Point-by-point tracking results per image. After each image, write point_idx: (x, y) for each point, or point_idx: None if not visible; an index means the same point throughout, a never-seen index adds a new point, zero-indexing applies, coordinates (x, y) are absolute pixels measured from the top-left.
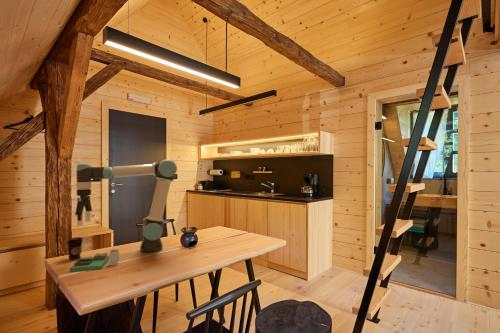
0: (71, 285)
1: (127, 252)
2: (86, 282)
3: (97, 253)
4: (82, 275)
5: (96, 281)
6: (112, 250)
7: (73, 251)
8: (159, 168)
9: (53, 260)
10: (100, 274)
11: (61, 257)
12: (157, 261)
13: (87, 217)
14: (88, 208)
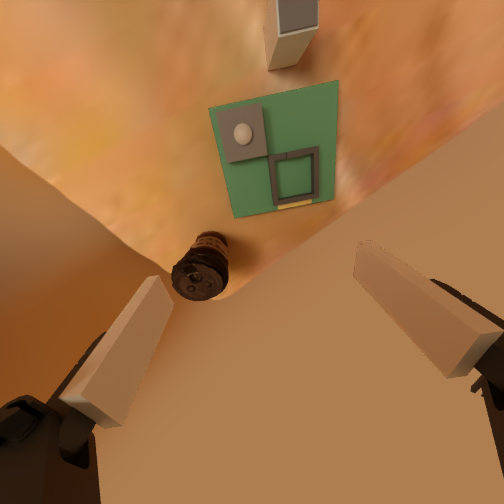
0: (453, 126)
1: (99, 46)
2: (454, 81)
3: (227, 158)
4: (376, 135)
5: (466, 37)
6: (300, 14)
7: (226, 253)
8: None
9: None
10: (393, 58)
11: None
12: None
13: (150, 324)
14: (57, 495)
